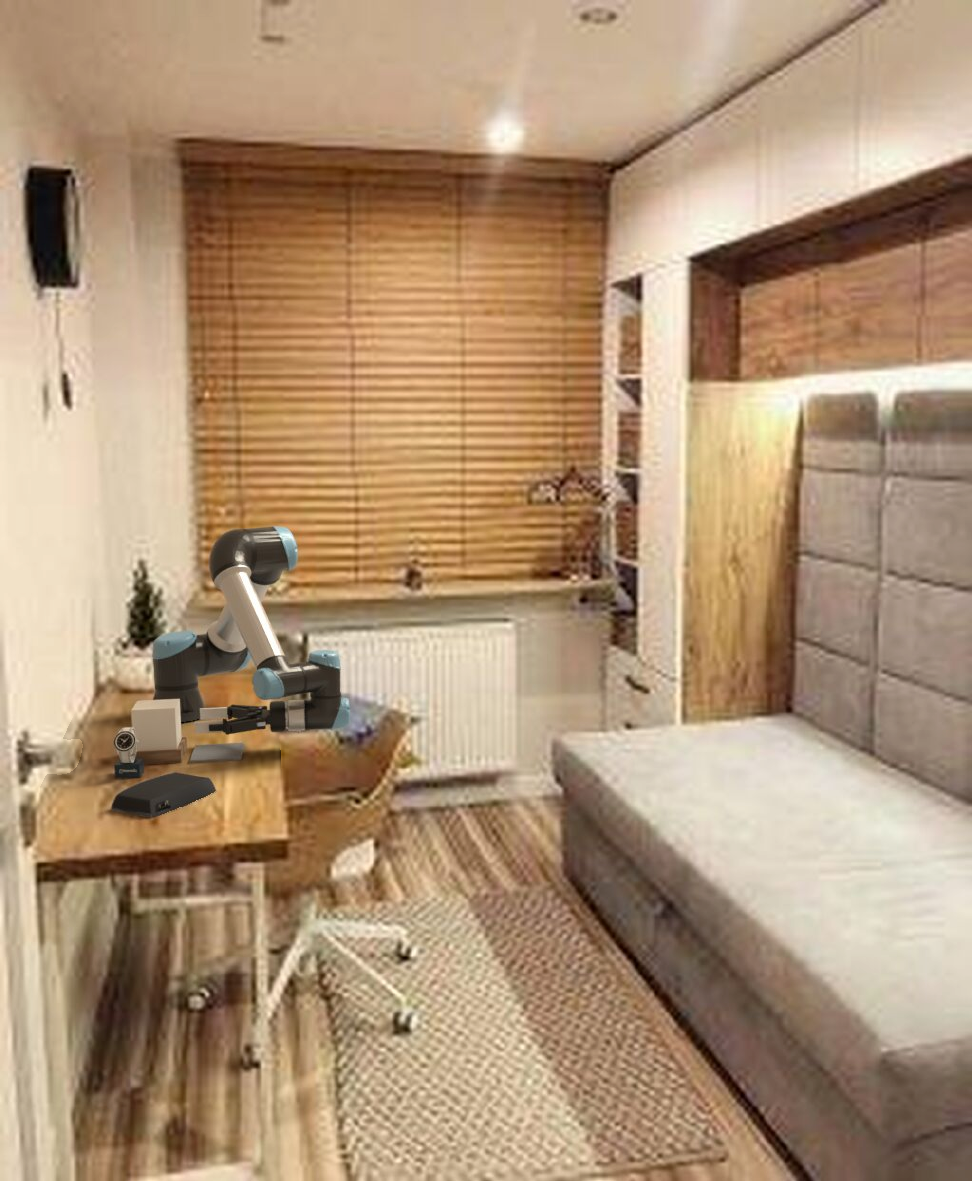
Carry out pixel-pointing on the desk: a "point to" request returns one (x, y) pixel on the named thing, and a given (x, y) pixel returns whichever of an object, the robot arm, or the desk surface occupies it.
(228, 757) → the mat
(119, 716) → the desk surface
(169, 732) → the off-white rounded cube
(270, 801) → the desk surface
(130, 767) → the watch
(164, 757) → the brown stepped block
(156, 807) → the external hard drive
